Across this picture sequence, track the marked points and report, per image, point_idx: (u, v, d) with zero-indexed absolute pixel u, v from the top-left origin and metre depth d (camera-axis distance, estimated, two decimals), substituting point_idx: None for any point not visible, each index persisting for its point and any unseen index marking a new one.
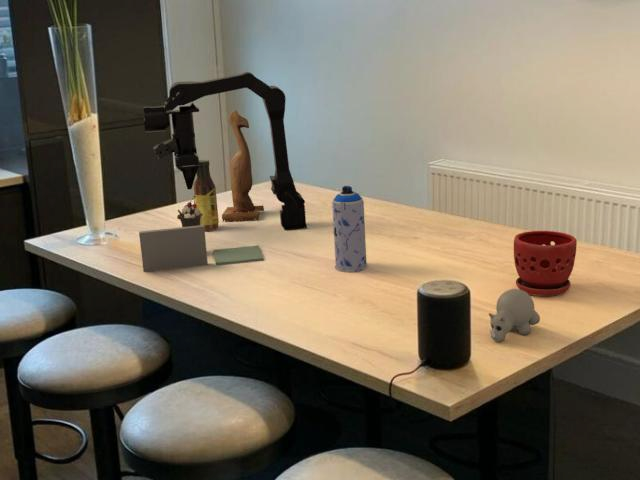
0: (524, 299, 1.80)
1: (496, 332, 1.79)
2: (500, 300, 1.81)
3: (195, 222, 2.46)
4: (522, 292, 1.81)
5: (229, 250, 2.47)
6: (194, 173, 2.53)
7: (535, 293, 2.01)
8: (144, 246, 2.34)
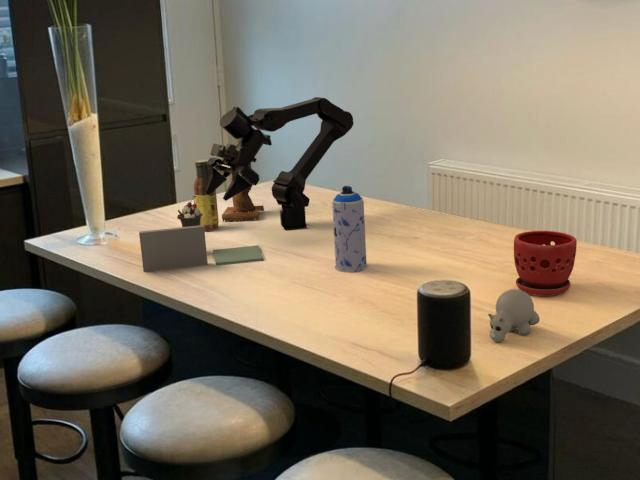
0: (523, 300, 1.80)
1: (495, 332, 1.79)
2: (500, 301, 1.81)
3: (195, 222, 2.46)
4: (521, 292, 1.81)
5: (229, 250, 2.47)
6: (240, 190, 2.48)
7: (535, 293, 2.01)
8: (144, 246, 2.34)
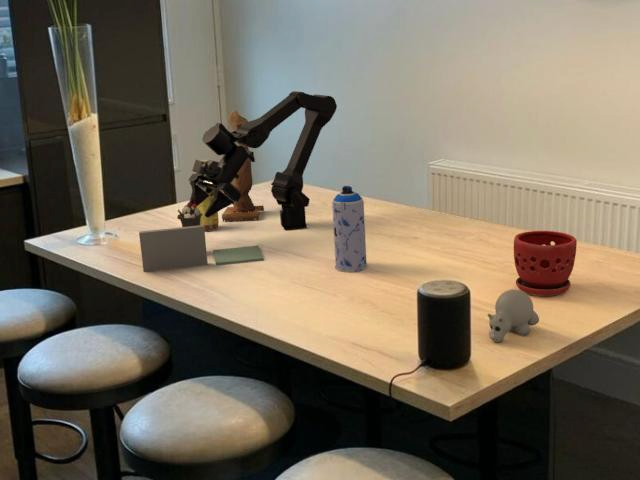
0: (522, 300, 1.80)
1: (495, 333, 1.79)
2: (499, 301, 1.81)
3: (195, 222, 2.46)
4: (521, 292, 1.81)
5: (229, 250, 2.47)
6: (222, 207, 2.45)
7: (535, 293, 2.01)
8: (144, 246, 2.34)
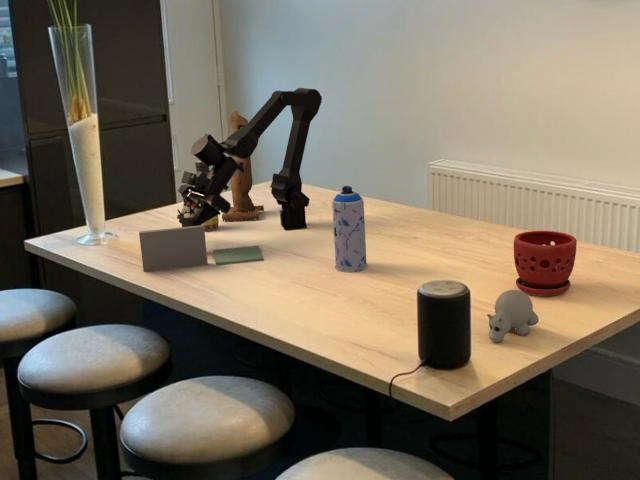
0: (522, 300, 1.79)
1: (494, 333, 1.79)
2: (499, 301, 1.81)
3: None
4: (521, 293, 1.81)
5: (229, 250, 2.47)
6: (209, 217, 2.45)
7: (535, 293, 2.01)
8: (144, 246, 2.34)
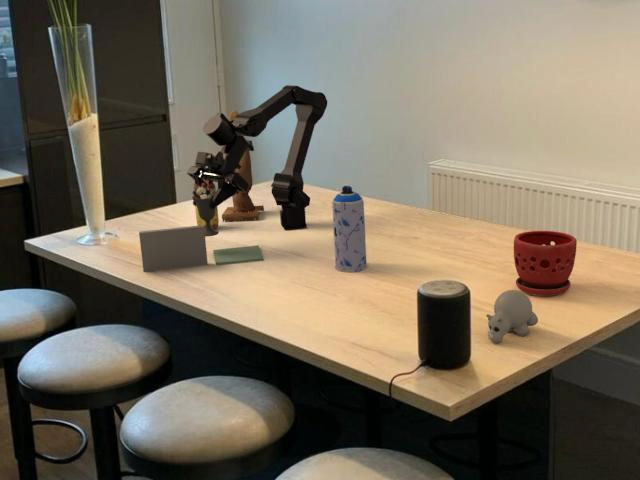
0: (521, 301, 1.79)
1: (494, 333, 1.78)
2: (498, 302, 1.81)
3: None
4: (520, 293, 1.81)
5: (229, 250, 2.47)
6: (227, 197, 2.42)
7: (535, 293, 2.01)
8: (144, 246, 2.34)
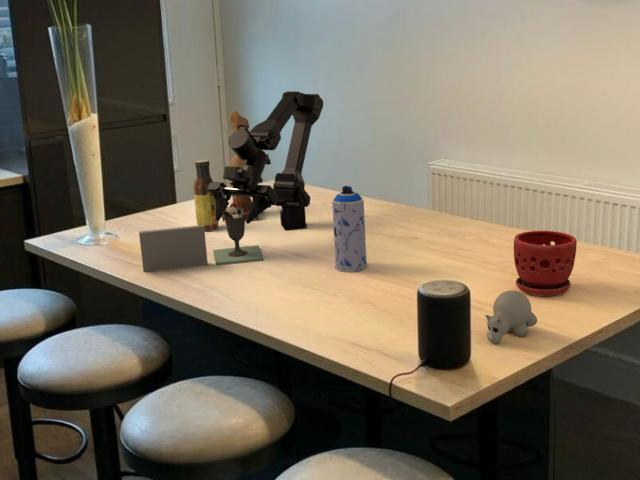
0: (520, 301, 1.79)
1: (493, 334, 1.78)
2: (497, 302, 1.81)
3: (243, 222, 2.40)
4: (519, 294, 1.80)
5: (229, 250, 2.47)
6: (260, 211, 2.40)
7: (535, 293, 2.01)
8: (144, 246, 2.34)
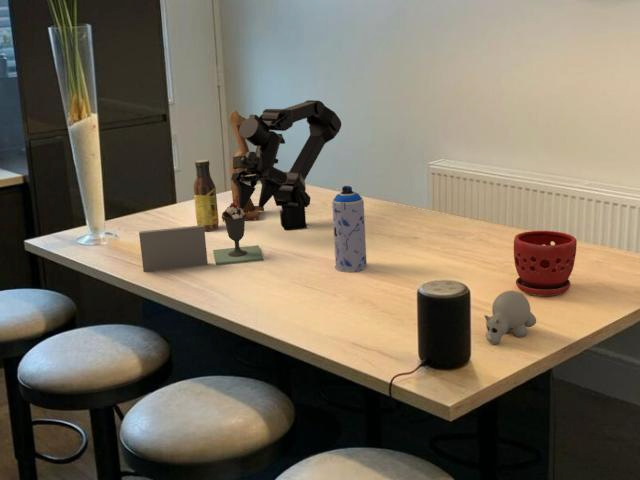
0: (519, 301, 1.79)
1: (492, 334, 1.78)
2: (496, 302, 1.81)
3: (243, 222, 2.40)
4: (518, 294, 1.80)
5: (229, 250, 2.47)
6: (273, 192, 2.47)
7: (535, 293, 2.01)
8: (144, 246, 2.34)
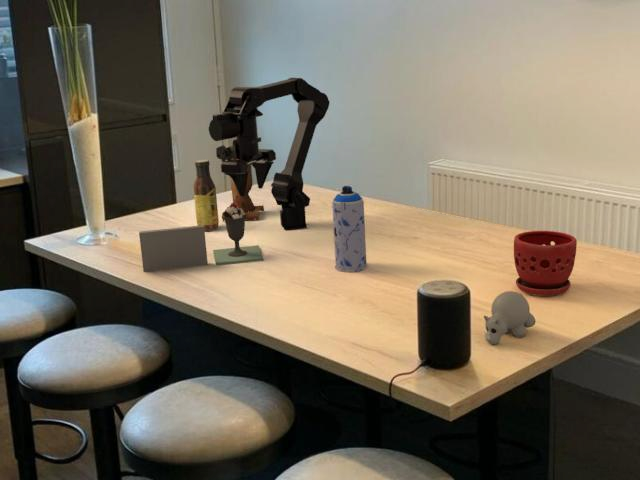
0: (519, 302, 1.79)
1: (491, 335, 1.78)
2: (495, 303, 1.80)
3: (243, 222, 2.40)
4: (517, 294, 1.80)
5: (229, 250, 2.47)
6: (242, 181, 2.48)
7: (535, 293, 2.01)
8: (144, 246, 2.34)
